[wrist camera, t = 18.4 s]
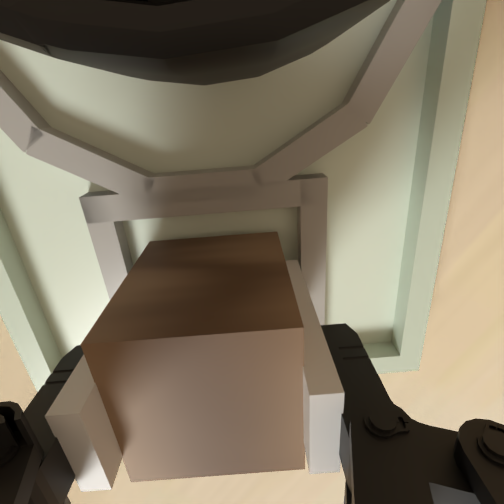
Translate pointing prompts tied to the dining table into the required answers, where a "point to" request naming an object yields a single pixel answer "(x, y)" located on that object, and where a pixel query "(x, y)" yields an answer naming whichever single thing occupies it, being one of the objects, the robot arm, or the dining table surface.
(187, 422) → the block
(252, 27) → the mug
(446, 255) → the dining table surface
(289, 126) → the tray
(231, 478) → the dining table surface
